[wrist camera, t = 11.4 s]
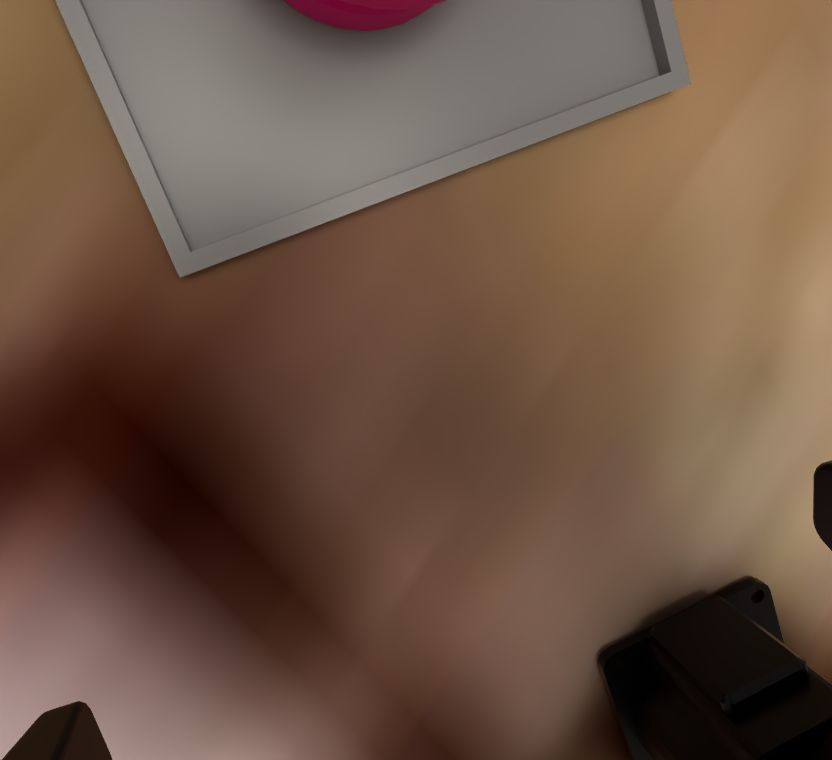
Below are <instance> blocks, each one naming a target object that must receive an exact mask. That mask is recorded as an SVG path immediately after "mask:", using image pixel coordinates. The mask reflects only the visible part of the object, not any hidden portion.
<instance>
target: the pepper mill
mask: <svg viewBox="0 0 832 760" xmlns="http://www.w3.org/2000/svg"><path fill="white" fill-rule="evenodd" d="M285 1H286V2H287V3H288V4H289V5H291V6H292V7H293V8H295V9H297V10H298V11H300V12H302V13H303V14H305V15H307V16H308V17H310V18H312V19H313V20H316V21H319V22H322V23H325V24H328V25H331V26H334V27H337V28H344V29H352V30H360V31H370V30H379V29H386V28H389V27H393V26H397V25H400V24H404V23H405V22H407V21H409V20H411V19H413V18H415V17H417V16H418V15H420V14H421V13H423V12H424V11H426V10H427V9H429V8H430V7H432V6H433V5H434V4H437V3H441V2H443V1H446V0H285Z"/></svg>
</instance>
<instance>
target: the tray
mask: <svg viewBox="0 0 832 760" xmlns="http://www.w3.org/2000/svg"><path fill="white" fill-rule="evenodd" d="M55 1H56V3H57V6H58V8H59V10H60V12H61V15H62V17H63V19H64V21H65V24H66V26H67V28H68V30H69V32H70V35H71V37H72V39H73V41H74V44H75V46H76V48H77V50H78V53H79V55H80V57H81V59H82V61H83V64H84V66H85V68H86V70H87V73H88V75H89V77H90V79H91V81H92V84H93V86H94V88H95V90H96V93H97V95H98V97H99V99H100V102H101V104H102V106H103V108H104V110H105V113H106V115H107V117H108V119H109V122H110V124H111V126H112V128H113V131H114V133H115V135H116V137H117V139H118V142H119V144H120V146H121V148H122V151H123V153H124V155H125V157H126V159H127V162H128V164H129V166H130V168H131V171H132V173H133V175H134V177H135V180H136V182H137V184H138V186H139V188H140V191H141V193H142V195H143V197H144V200H145V202H146V204H147V206H148V209H149V211H150V213H151V215H152V217H153V220H154V222H155V224H156V226H157V229H158V231H159V233H160V235H161V237H162V240H163V242H164V244H165V246H166V249H167V251H168V253H169V255H170V258H171V260H172V262H173V264H174V266H175V269H176V271H177V273H178V275H179V278H181V277H183V276H186V275H189V274H191V273H194V272H197V271H199V270H202V269H205V268H207V267H210V266H212V265H215V264H218V263H220V262H223V261H226V260H228V259H231V258H234V257H236V256H239V255H241V254H244V253H247V252H249V251H252V250H255V249H257V248H260V247H263V246H265V245H268V244H270V243H273V242H276V241H278V240H281V239H284V238H286V237H289V236H292V235H294V234H297V233H299V232H302V231H305V230H307V229H310V228H313V227H315V226H318V225H321V224H323V223H326V222H328V221H331V220H334V219H336V218H339V217H342V216H344V215H347V214H350V213H352V212H355V211H357V210H360V209H363V208H365V207H368V206H371V205H373V204H376V203H379V202H381V201H384V200H386V199H389V198H392V197H394V196H397V195H400V194H402V193H405V192H408V191H410V190H413V189H415V188H418V187H421V186H423V185H426V184H429V183H431V182H434V181H437V180H439V179H442V178H444V177H447V176H450V175H452V174H455V173H458V172H460V171H463V170H466V169H468V168H471V167H473V166H476V165H479V164H481V163H484V162H487V161H489V160H492V159H495V158H497V157H500V156H502V155H505V154H508V153H510V152H513V151H516V150H518V149H521V148H524V147H526V146H529V145H531V144H534V143H537V142H539V141H542V140H545V139H547V138H550V137H553V136H555V135H558V134H560V133H563V132H566V131H568V130H571V129H574V128H576V127H579V126H582V125H584V124H587V123H589V122H592V121H595V120H597V119H600V118H603V117H605V116H608V115H611V114H613V113H616V112H618V111H621V110H624V109H626V108H629V107H632V106H634V105H637V104H640V103H642V102H645V101H647V100H650V99H653V98H655V97H658V96H661V95H663V94H666V93H669V92H671V91H674V90H676V89H679V88H682V87H684V86H687V85H690V84H691V81H690V77H689V73H688V69H687V65H686V60H685V56H684V52H683V48H682V44H681V39H680V35H679V31H678V27H677V23H676V18H675V14H674V10H673V6H672V2H671V0H446V1H443V2H441V3H437V4H434V5H433V6H432V7H430V8H429V9H427V10H426V11H424V12H423V13H421V14H420V15H418V16H417V17H415V18H413V19H411V20H409V21H407V22H405V23H404V24H400V25H397V26H393V27H389V28H386V29H379V30H370V31H360V30H352V29H344V28H337V27H334V26H331V25H328V24H325V23H322V22H319V21H316V20H313V19H312V18H310V17H308V16H307V15H305V14H303V13H302V12H300V11H298V10H297V9H295V8H293V7H292V6H291V5H289V4H288V3H287V2H286V1H285V0H55Z"/></svg>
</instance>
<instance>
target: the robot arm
mask: <svg viewBox="0 0 832 760" xmlns="http://www.w3.org/2000/svg"><path fill="white" fill-rule="evenodd" d="M813 520H814V525H815V528H816V531H817V533H818V535H819V536H820V538H821V539H822V540H823V542H824V543H825V544H826V545H827V546H828V547H829V548H830V549H831V550H832V460H831V461H828V462H825V463H822V464H820V465H819V466H818V467H817V468H816V470H815V473H814V496H813ZM755 591H756V593H755V595H754V596H753V597H751V596H752V594H753V592H755ZM615 660H618V662H617V664H616V665H615V666H613V667H610V666H611V664H612V663H613V662H614V661H615ZM598 667H599V670H600V673H601V676H602V678H603V681H604V684H605V687H606V690H607V693H608V696H609V699H610V702H611V705H612V708H613V711H614V714H615V717H616V720H617V723H618V725H619V728H620V731H621V734H622V737H623V740H624V743H625V746H626V749H627V752H628V755H629V758H630V760H832V683H831V682H830V681H829V680H827V679H826V678H825V677H823V676H822V675H821V674H819V673H818V672H817V671H816V670H814V669H813V668H812V667H810V666H809V665H808V664H806V661H805V660H804V659H803V658H802V657H801V656H799V655H798V654H797V653H795V652H794V651H793V650H791V649H790V648H789V647H788V646H786V645H785V644H784V642H783V638H782V634H781V631H780V627H779V623H778V619H777V615H776V611H775V607H774V603H773V599H772V595H771V591H770V589H769V587H768V586H767V585H766V584H764V583H763V582H761V581H760V580H758V579H757V578H749V579H746V580H744V581H742V582H740V583H738V584H736V585H734V586H732V587H730V588H728V589H726V590H724V591H722V592H720V593H718V594H716V595H714V596H712V597H710V598H708V599H706V600H704V601H702V602H700V603H698V604H696V605H694V606H692V607H690V608H688V609H686V610H684V611H681V612H679V613H677V614H675V615H673V616H671V617H669V618H667V619H665V620H663V621H661V622H659V623H657V624H655V625H653V626H651V627H649V628H647V629H645V630H643V631H641V632H639V633H637V634H635V635H633V636H631V637H629V638H627V639H625V640H623V641H621V642H619V643H617V644H615V645H613V646H611V647H609V648H607V649H606V650H604V651H603V652H602V653H601V655H600V656H599V660H598ZM2 760H112V757H111V754H110V752H109V750H108V748H107V745H106V743H105V741H104V738H103V736H102V734H101V732H100V729H99V727H98V725H97V722H96V720H95V718H94V716H93V713H92V711H91V709H90V708H89V707H88V706H87V704H86V703H83V702H80V701H78V702H74V703H71V704H68V705H65V706H62V707H59V708H56V709H52V710H49V711H47V712H45V713H43V714H42V715H41V716H40V717H39V718H38V719H37V720H36V721H35V722H34V723H33V724H32V726H31V727H30V728H29V729H28V730H27V731H26V732H25V734H24V735H23V736H22V737H21V738H20V739H19V741H18V742H17V743H16V744H15V745H14V746H13V747H12V749H11V750H10V751H9V752H8V753H7V754H6V755H5V757H4V758H3V759H2Z"/></svg>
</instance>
